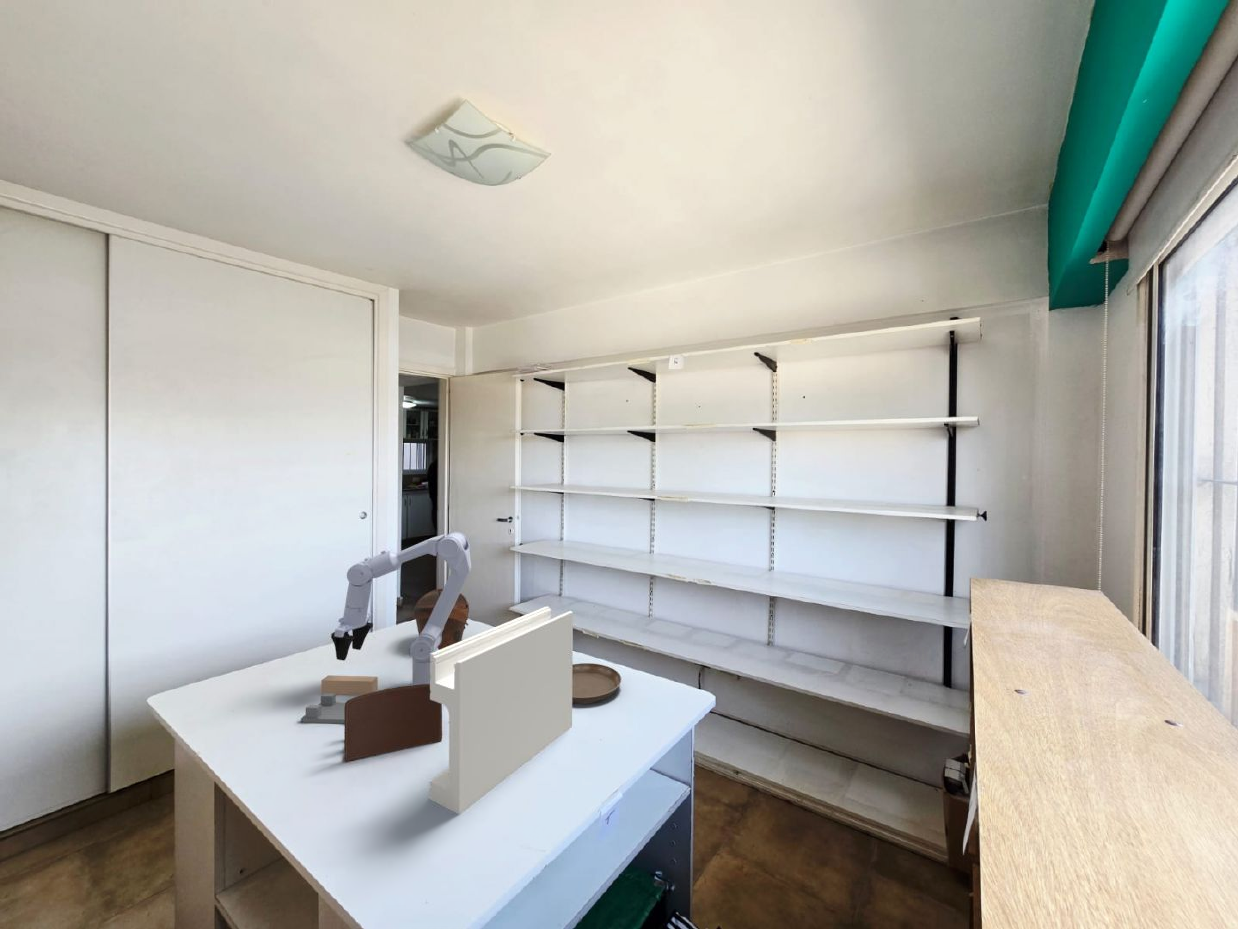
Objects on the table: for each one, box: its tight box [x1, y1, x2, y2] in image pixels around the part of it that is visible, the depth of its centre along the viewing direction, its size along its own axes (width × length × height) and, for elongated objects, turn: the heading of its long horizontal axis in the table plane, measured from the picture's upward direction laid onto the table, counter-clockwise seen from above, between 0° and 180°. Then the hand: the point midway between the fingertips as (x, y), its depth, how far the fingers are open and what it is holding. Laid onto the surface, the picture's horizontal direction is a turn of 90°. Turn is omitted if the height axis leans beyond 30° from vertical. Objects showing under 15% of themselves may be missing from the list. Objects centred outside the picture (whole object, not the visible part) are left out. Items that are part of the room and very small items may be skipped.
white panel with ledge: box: [429, 606, 574, 815], centre depth 110 cm, size 35×8×28 cm, turn 150°
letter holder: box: [343, 684, 443, 763], centre depth 117 cm, size 10×20×14 cm, turn 115°
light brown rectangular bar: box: [320, 675, 379, 696], centre depth 140 cm, size 14×3×4 cm, turn 88°
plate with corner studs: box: [300, 693, 346, 725], centre depth 127 cm, size 16×8×4 cm, turn 88°
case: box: [411, 588, 470, 650], centre depth 172 cm, size 18×20×18 cm
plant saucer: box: [572, 662, 622, 705], centre depth 143 cm, size 21×21×3 cm
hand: (348, 654), depth 140 cm, fingers open, 7 cm apart
